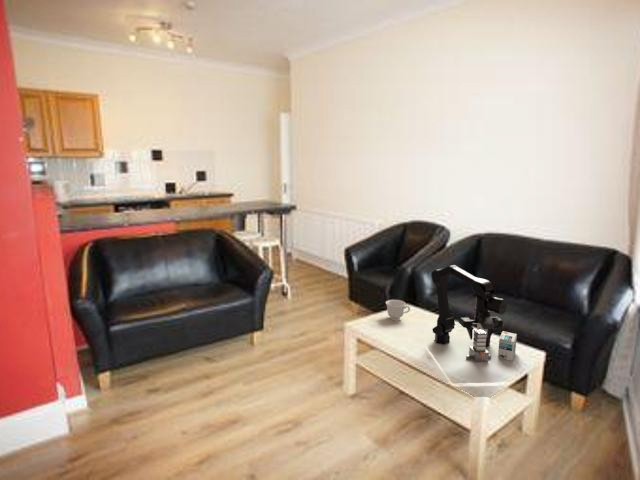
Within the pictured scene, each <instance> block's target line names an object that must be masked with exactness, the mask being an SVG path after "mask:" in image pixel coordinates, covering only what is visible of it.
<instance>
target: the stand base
mask: <svg viewBox="0 0 640 480" xmlns="http://www.w3.org/2000/svg"><path fill="white" fill-rule="evenodd" d="M468 348H469V349H468V351H469V352H468V354H466V355H465V359H466V360H472V361H473V363H488V362H489V360H491V359H492V355H491V354H490V351H488V350H487V349H486V351H485V352H476V351H475V350H474V349H473V345H472V346H469V347H468Z"/></svg>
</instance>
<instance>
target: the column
mask: <svg viewBox="0 0 640 480" xmlns="http://www.w3.org/2000/svg"><path fill="white" fill-rule="evenodd" d="M486 335H487V333H486V332H485V331H484V330H477V329H473V337H472V340H473V341H472V346H473V349H474V350H475V351H476V352H485V351H486V350H487V347H486V338H487V337H486Z"/></svg>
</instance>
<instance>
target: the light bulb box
mask: <svg viewBox="0 0 640 480" xmlns="http://www.w3.org/2000/svg"><path fill="white" fill-rule="evenodd" d="M517 337H518V334H517V333H513V332H508V331H504V330H502V332H501V334H500V336H499V339H498V352H497V358H498V359H499V358H500V359H503V360H508V361H511V362H513V361H514V359H515V356H516V348H517Z"/></svg>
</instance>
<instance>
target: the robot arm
mask: <svg viewBox="0 0 640 480" xmlns="http://www.w3.org/2000/svg"><path fill="white" fill-rule="evenodd" d="M430 275H431V280H432V282H433V284H434V286H435V288H436V296H437V303H438V304H437V305H438V306H437V307H438V313H439V314H438V317H437V318H436V319H437V320H436V326H434V327H432V329H431V330H432V333H433V334H434V339H433V342H435V343H436V344H439V345H445V344H449V343H451V342H450V340H451V336H450V333H452V331H453V330H454V329H455V326H456V323H455V317H453V316H452V315H451V314H450V307H449V299H448V298H449V297H448V288H447V287H448V286H447V285H448V283H449V281H450V279H449V277H450V276H453V277H455V278H456V279H458V280H460V281H462V282H463V283H465V284H467V285H468V286H470V287H471V289H472V291H473V292H474V293H473V294H472V295H471V296H472V297H474V298H475V307H474V308H473V309H474V316H473V319H470V317H460V318H459V321H458V324H459V325H461V326H462V327H463V328H465V329H466V330H467V333H468V336H469V339H470V341H472V340H473V338H474V330H475V329H474V327H473V325H477V324H481V326H482V328H483V329H487V338H488V339H490V340H491V338H490V337H492V336H493V333H494V332H495V330H497V329H500V328H502V327H504V324H505V323H504V321H503V320H502V318H500V317H499V316H491V312H492V313H495V314H498V315H504V314H505V313H506V311H507V310H508V305H507V303H506V301H505V299H504V298H501V297H500V298H499V297H498V294H497V292H496V290H495V288H494V287H493V283H492V282H491V281H490V280H488V279H485V278H480V277H476V276H474V275H473V274H471V273H469V272H468V271H466V270H464V269H462V268H460V267H459V266H457V265H456V264H452V265H451V264H450V265H448V266H447V267H444V268H442V267H441V268H439V269H433V270H432V272H431V273H430Z"/></svg>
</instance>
